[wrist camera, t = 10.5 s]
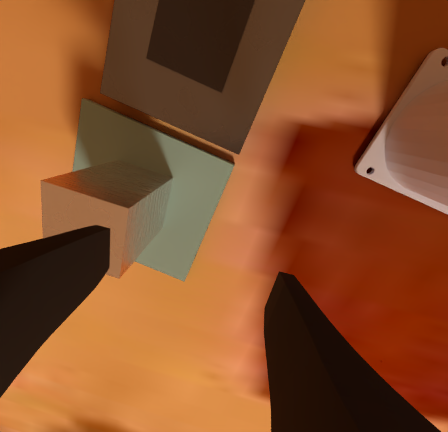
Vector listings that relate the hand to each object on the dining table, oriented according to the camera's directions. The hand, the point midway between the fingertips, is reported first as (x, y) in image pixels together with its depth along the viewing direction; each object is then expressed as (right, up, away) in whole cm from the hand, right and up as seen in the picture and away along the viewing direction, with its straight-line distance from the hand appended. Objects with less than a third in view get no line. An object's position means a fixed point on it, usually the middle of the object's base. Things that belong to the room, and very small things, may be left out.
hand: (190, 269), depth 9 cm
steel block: (-5, +4, +9) cm, 11 cm away
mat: (-6, +4, +10) cm, 12 cm away
